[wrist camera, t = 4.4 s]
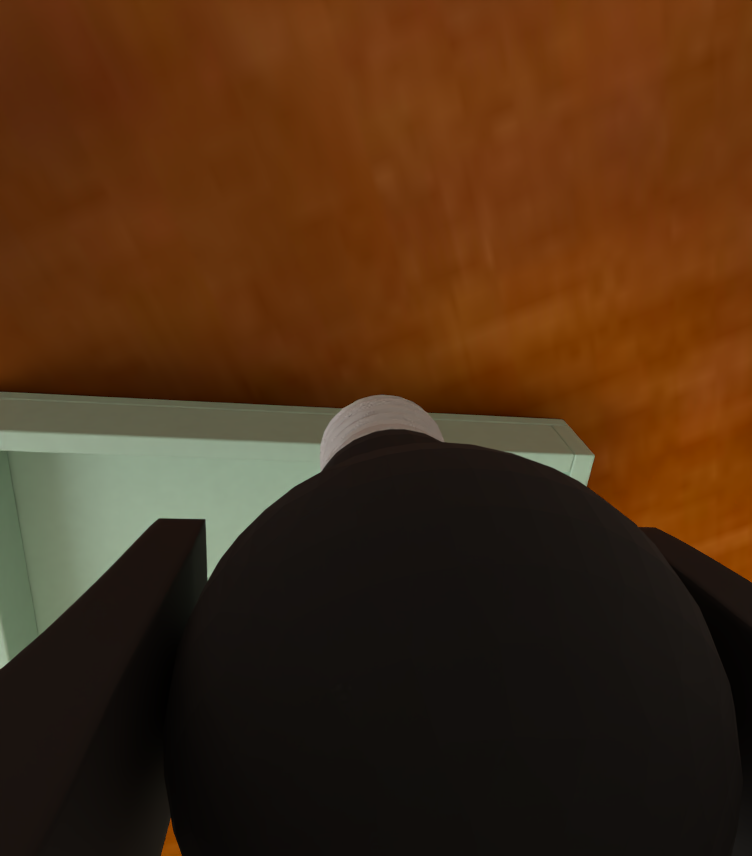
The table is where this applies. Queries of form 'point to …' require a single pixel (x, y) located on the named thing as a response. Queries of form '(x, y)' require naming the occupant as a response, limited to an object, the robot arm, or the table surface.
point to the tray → (170, 481)
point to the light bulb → (446, 669)
